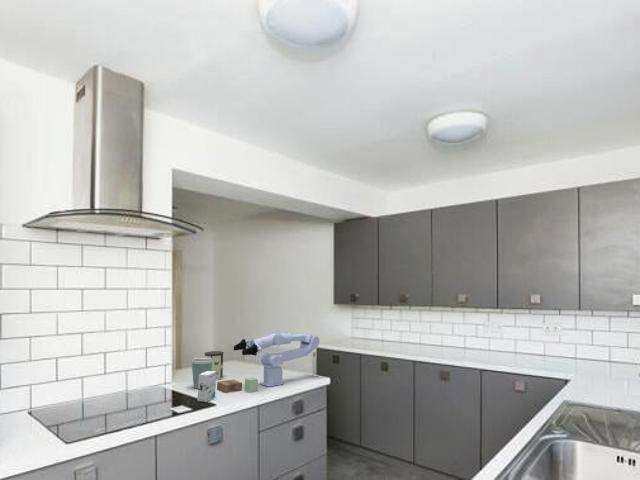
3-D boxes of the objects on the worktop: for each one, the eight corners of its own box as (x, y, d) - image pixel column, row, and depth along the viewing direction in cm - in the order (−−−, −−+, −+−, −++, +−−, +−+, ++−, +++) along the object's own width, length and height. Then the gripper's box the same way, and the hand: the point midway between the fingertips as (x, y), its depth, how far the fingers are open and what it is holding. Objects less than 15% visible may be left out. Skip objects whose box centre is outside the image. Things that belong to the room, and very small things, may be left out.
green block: (252, 389, 211) (253, 377, 212) (257, 391, 208) (257, 378, 208) (244, 391, 208) (245, 378, 209) (249, 393, 205) (249, 380, 206)
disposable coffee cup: (196, 384, 221) (197, 355, 223) (215, 385, 219) (216, 355, 221) (186, 389, 211) (187, 358, 212) (206, 390, 209) (207, 359, 210)
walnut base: (233, 387, 217) (233, 379, 217) (241, 391, 210) (242, 382, 210) (217, 390, 211) (217, 381, 212) (225, 393, 204) (225, 385, 205)
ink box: (206, 396, 198) (206, 370, 200) (216, 397, 197) (216, 371, 199) (197, 401, 190) (198, 374, 191) (207, 401, 189) (208, 374, 190)
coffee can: (213, 375, 243) (214, 350, 245) (226, 377, 238) (227, 352, 239) (199, 379, 235) (200, 352, 236) (212, 381, 229) (213, 354, 231)
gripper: (252, 332, 225) (230, 338, 215) (269, 340, 214) (246, 347, 205) (252, 345, 226) (230, 352, 216) (269, 353, 215) (246, 361, 206)
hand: (238, 350), depth 211 cm, fingers open, 7 cm apart
